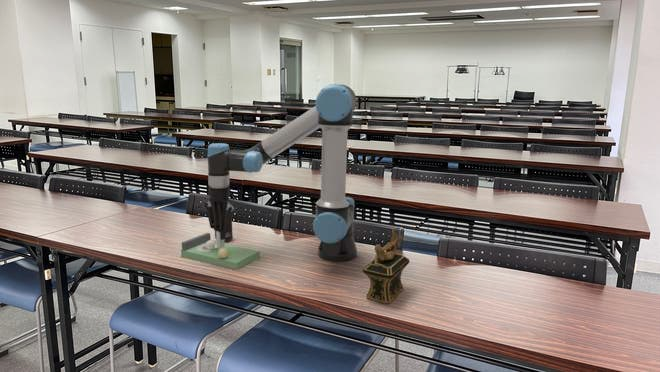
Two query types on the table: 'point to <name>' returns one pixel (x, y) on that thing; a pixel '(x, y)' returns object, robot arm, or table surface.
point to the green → (234, 260)
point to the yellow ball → (223, 253)
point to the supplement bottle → (229, 234)
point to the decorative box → (386, 272)
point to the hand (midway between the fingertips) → (220, 247)
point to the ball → (210, 244)
